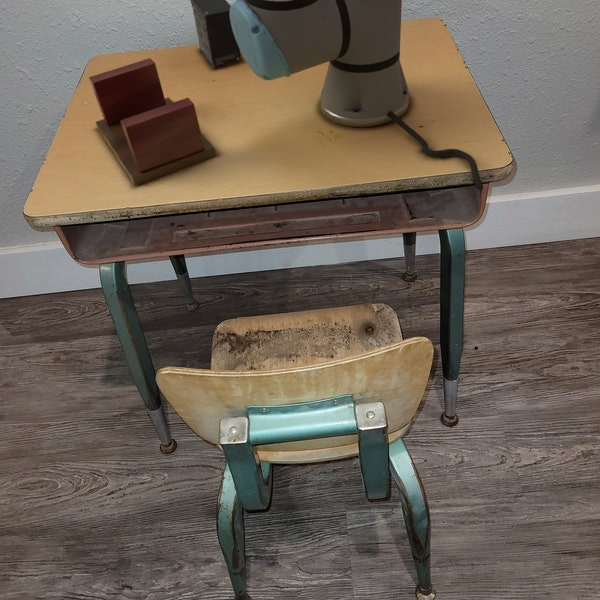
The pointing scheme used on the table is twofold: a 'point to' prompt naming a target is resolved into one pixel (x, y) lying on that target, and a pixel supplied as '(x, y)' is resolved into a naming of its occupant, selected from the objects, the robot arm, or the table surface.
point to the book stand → (147, 123)
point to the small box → (215, 32)
